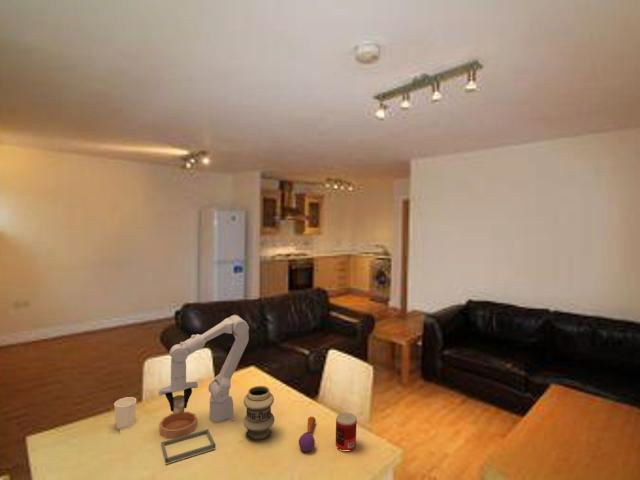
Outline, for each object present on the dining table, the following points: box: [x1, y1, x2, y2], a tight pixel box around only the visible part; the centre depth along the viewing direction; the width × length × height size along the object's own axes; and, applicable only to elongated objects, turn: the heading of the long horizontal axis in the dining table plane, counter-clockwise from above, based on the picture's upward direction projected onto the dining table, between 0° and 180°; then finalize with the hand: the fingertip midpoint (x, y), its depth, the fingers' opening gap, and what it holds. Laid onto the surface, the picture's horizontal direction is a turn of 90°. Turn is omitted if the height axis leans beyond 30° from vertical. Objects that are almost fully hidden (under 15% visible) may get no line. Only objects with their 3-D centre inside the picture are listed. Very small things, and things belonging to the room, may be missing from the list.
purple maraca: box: [298, 416, 317, 453], centre depth 141 cm, size 6×6×20 cm
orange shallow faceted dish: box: [158, 411, 198, 439], centre depth 144 cm, size 14×14×4 cm
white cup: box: [113, 396, 137, 431], centre depth 146 cm, size 8×8×10 cm
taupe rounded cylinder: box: [172, 394, 185, 414], centre depth 143 cm, size 4×4×6 cm
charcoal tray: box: [160, 429, 217, 467], centre depth 132 cm, size 17×11×2 cm, turn 121°
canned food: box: [335, 412, 357, 451], centre depth 136 cm, size 8×8×11 cm
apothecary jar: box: [243, 385, 275, 442], centre depth 142 cm, size 12×12×18 cm
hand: (178, 408), depth 143 cm, fingers closed on taupe rounded cylinder, 4 cm apart
